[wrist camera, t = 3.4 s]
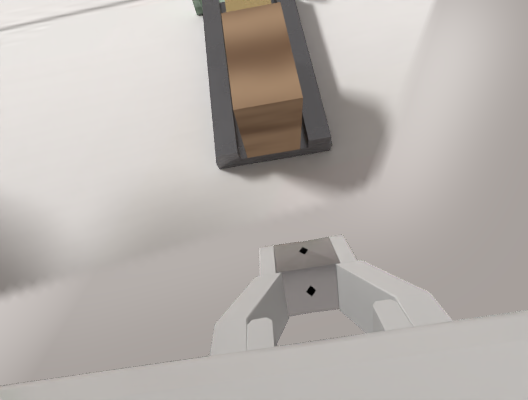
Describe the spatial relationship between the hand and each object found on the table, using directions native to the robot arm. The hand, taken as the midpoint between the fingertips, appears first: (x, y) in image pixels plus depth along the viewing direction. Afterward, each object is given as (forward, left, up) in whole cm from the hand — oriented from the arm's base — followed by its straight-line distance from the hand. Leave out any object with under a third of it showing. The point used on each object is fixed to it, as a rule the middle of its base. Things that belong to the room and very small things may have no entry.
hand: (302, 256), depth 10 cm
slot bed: (-6, +22, -14) cm, 27 cm away
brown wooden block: (-4, +16, -13) cm, 21 cm away
